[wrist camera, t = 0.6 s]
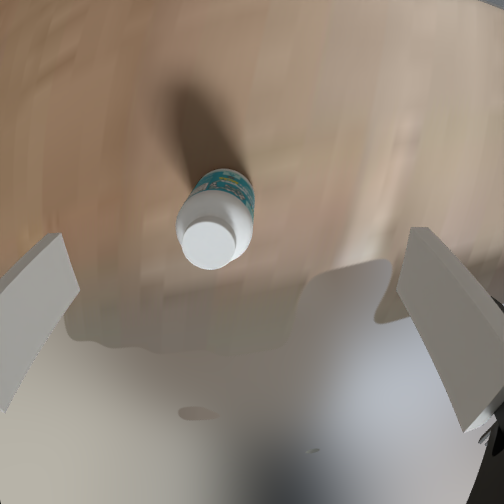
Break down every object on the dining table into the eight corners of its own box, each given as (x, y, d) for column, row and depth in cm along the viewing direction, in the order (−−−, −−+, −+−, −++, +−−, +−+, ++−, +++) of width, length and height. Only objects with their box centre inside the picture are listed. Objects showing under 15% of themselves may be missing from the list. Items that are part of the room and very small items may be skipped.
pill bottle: (267, 200, 38) (270, 255, 26) (221, 233, 40) (206, 296, 29) (228, 154, 35) (212, 188, 23) (183, 190, 38) (149, 240, 26)
